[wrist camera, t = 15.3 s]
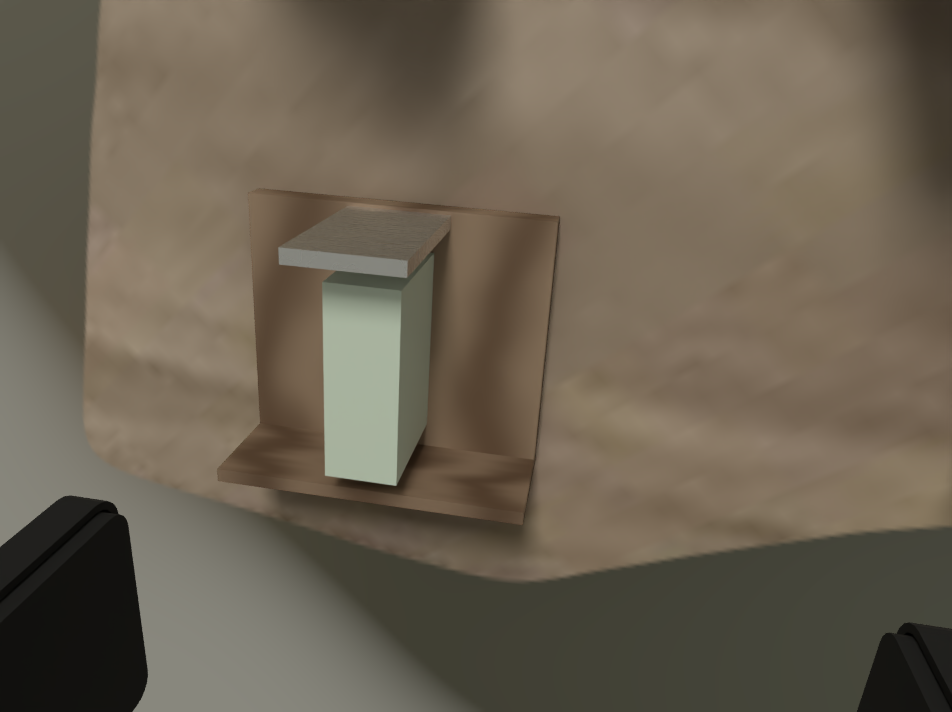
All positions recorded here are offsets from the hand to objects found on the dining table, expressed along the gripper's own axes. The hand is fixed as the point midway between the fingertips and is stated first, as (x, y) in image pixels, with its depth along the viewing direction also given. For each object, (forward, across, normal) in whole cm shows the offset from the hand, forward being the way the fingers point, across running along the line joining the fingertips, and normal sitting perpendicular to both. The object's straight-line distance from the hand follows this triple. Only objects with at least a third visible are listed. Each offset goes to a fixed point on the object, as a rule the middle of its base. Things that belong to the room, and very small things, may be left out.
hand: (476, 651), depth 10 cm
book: (+35, +10, +10) cm, 38 cm away
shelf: (+36, +10, +10) cm, 39 cm away
